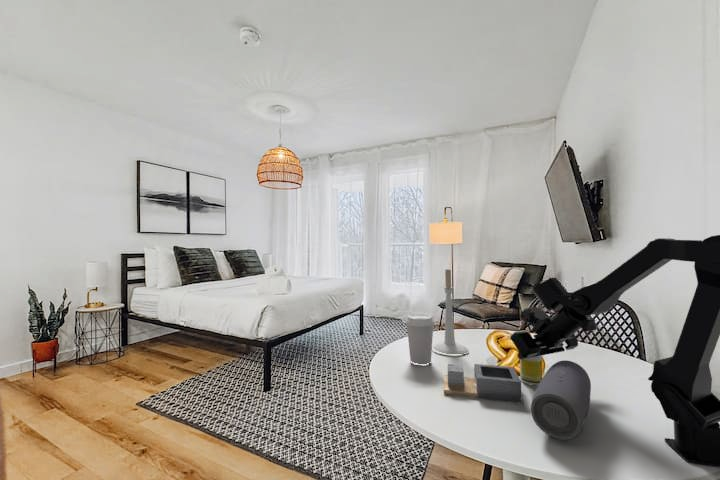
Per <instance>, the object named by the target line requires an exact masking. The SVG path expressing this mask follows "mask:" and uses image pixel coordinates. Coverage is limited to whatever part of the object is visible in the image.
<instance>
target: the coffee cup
mask: <svg viewBox="0 0 720 480" xmlns="http://www.w3.org/2000/svg"><path fill="white" fill-rule="evenodd" d="M405 324H406V327H407V328H406V329H407V340H408V351H409V359H410V362H411V361H412V362H414V363H418V364H427V363H430V362H431V363H432V352H433V351H432V347H433V337H434V336H433V335H434V325H435V324H436V322H435V319H433V316H432V315H430V314H423V313H414V314H408V315H407V318H406V319H405Z"/></svg>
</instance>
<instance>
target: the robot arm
mask: <svg viewBox="0 0 720 480" xmlns="http://www.w3.org/2000/svg"><path fill="white" fill-rule="evenodd" d="M672 260H674V261H679V262H680V261H681V262H691V263H693V262H694V265H693V268H694V271H695V277H696V281H697V285H696V288H695V291H694V293H693V297H692V300H691V303H690V306H689V309H688V312H687V315H686V318H685V321H684V323H683V326H682V329H681V332H680V336H679V338H678V340H677V341H678V342H677V345H676V347H675V348H674V349H675V350H674V352H673V355H672V356H669V357H665V358H662V359H658V360H655V361H654V363H653V366H652V369H653V370H652V374H651V375H650V376H649V377H648V378H647V380H648V381H651V384H650V389H651V392H652V393H653V395H655V398H656V399H657V400H658V401H659V403H660V406H661V407H662V411H663V413H664V415H665V417H666V418H667V419H669V420H671V421H673V435H674V438H669V437H668V438H667V437H665V438H664V442H665V443H666V444H667V445H668V446H669V447H670V448H672V449H673V450H674V451H675V453H677V454H678V455H679V456H680V457H681V458H682V459H683V460H685V461H686V462H689V463H692V464H699V465H706V466H713V467H719V466H720V423H719V422H720V398H718V397H717V396H716V395H715V394H714V393H713V392H712V383H713V377H712V373H711V369H710V362H711V360H712V358H713V354H714V352H715V349H716V347H717V344H718V340H719V338H720V234H716V235H711V236H708V237H706V238H704V239H701V240H698V239H697V240H696V239H693V240H692V239H675V238H670V237H669V238H654V239H652V240H651V241H649V242H648V243H647V245H646V246H645V247H643V248H642V249H641V250H639V251H637V253H635V254H634V255H633V256H631V257H630V258H628V259H627V260H626V261H625V262H623V263H622V264H621V265H619V266H618V267H616V268H615V269H614V270H612V271H611V272H610V273H609V274H607V275H606V276H605V277H603V278H602V279H600V280H598V281H596V282H593V283H590V284H588V285H584V286H583V287H581V288H579V289H577V290H575V291H573V292H568V291H567V290H566V288H565V287H564V286H563V285H562V284H561V283H560V281H559V279H558V278H557V277H548V279H547V280H545V281H542V282H541V283H539V284H536V285H535V286H534V288H533V289H532V293H533V294H534V296H535V297H537V299H538V300H539V301H540V303H541V304H542V305H543V306H544V307H545V309H546V310H548V311H549V310H550V311H551V310H552V311H553V312H556V313H555V314H553V316H550V315H549V314H548V313H547V312H545V311H543V310H542V309H541V308H539V307H535V306H532V307H526V308H523V310H522V311H520V313H519V314H520V315H519V316H520V319H521V320H522V321H523V322H525V323H526V324H529V325H531V326H532V328H531V330H532V331H533V333H535V334H534V335H533V337H532V335H531V334H530V333H529V332H528V331H526V330H520V331H515V332H513V333H512V334H511V335H510V337H509V338H510V340H511V342H512V344H513V345H514V346H515V348H516V349H517V350H518V353H517V358H518V359H519V360H520V359H525V358H530V357H536V356H539V355H540V356H541V357H542V356H545V355H546V356H547V355H550V354H557V353H562V352H565V349H566V351H569V350H574V349H576V348H577V347H578V346H579V340H578V339H577V338H576V337H575V333H577V332H578V331H579V330H580V329H582V330H583V332H585V333H588V332H592V331H596V330H597V325H596V323H595V321H596V320H595V319H594V318H591V317H589V316H592V315H598V314H599V315H600V314H605V313H608V312H609V311H610V310H611V309H612V308H613V307H614V306H615V305H616V304H617V303H618V301H619V299H620V297H621V296H622V295H624V293H625V292H626V291H628V290H629V289H630V288H632V287H634V286H635V285H637V284H638V283H640V282H641V281H642V280H644V279H646V278H647V277H649V276H650V275H652V274H653V273H655V272H656V271H658V270H659V269H660V268H663V267H664V266H665V265H666V264H668V263H669V262H671V261H672ZM564 343H565V344H566V346H565V347H563V346H564V345H565V344H564Z"/></svg>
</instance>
